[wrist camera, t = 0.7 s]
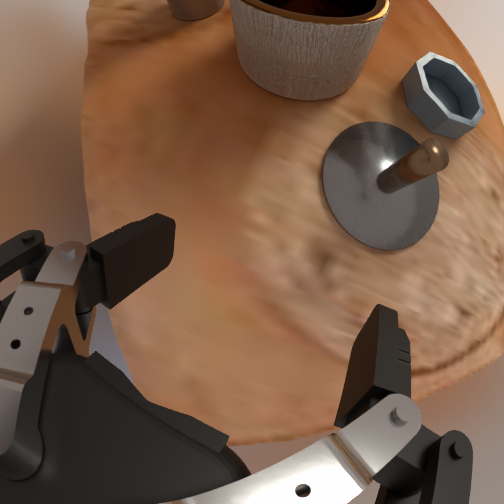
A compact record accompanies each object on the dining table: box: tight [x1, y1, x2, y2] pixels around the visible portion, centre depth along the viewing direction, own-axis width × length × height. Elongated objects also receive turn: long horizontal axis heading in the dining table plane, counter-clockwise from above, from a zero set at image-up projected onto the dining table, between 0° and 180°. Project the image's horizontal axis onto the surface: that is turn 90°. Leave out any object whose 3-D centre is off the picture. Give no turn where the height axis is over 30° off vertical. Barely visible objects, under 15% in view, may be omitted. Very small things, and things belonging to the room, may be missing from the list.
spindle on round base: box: [322, 122, 449, 250], centre depth 26 cm, size 17×17×13 cm
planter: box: [229, 0, 391, 100], centre depth 25 cm, size 18×18×16 cm
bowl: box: [402, 52, 485, 139], centre depth 29 cm, size 12×12×6 cm
